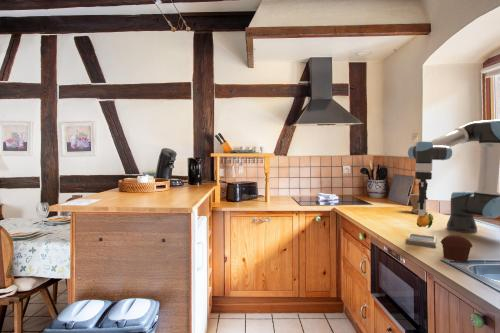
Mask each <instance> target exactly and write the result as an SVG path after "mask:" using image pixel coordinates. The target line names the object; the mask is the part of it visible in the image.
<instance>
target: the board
mask: <svg viewBox="0 0 500 333" xmlns="http://www.w3.org/2000/svg"><path fill="white" fill-rule="evenodd" d="M405 244H408V245H414V246H420V247H425V248H427V247H428V248H433V249H434V248H437V236H435V235H426V234H419V233H412V232H411V233H410V232H409V233H408V236H407V237H406V240H405Z"/></svg>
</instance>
